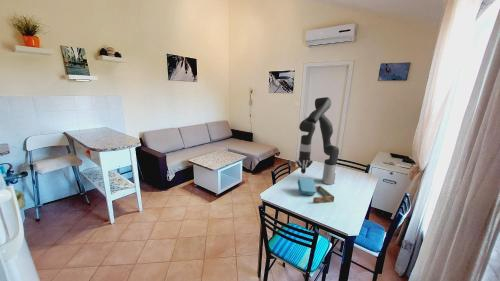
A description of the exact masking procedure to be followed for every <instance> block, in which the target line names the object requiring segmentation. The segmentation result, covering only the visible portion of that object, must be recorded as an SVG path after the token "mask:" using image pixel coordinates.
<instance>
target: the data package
mask: <svg viewBox="0 0 500 281" xmlns="http://www.w3.org/2000/svg"><path fill="white" fill-rule="evenodd" d="M297 184H298V185H297V186H298V191H299V192H298V193H300V194H301V195H308V196H314V195H315V194H316V193H317V191H316V187H315V186H316V184H315V180H314V179H313V178H307V177H299V179H298V181H297Z"/></svg>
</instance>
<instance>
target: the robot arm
mask: <svg viewBox="0 0 500 281" xmlns="http://www.w3.org/2000/svg"><path fill="white" fill-rule="evenodd" d="M331 106H332V100H331V98H330V97H328V96H327V97H324V96H323V97H317V98H315V99H314V107H315V109H314V110H313V111H312V112H310V114H309V115H308V116H307V117H306V118H305V119H303V120H302V121H301V122H300V124H299V131H301V132H305V133H307V134H303V135H301V137H300V145H299V155H298V156H299V157H298V159H297V160H295V163H296V165H297V167H298V168H300V173H301V174H302V175H303V174H305V173H306V169H307V168H310V166H311V165H312V164H313V160H311V152H312V139H313V135H314V132H315V130H316V124H317V123H318V122H319V127H320V129H319V130H320V133H321V138H322V139H321V140H322V144H323V153H324V154H325V155H326V156H329V158H327V159H324V163H323V170H322V171H323V172H322V178H321V179H322V180H321V182H322V183H323V184H325V185H333V184H335V180H336V172H335V171H336V166H337V162H338V159H339V154H340V148H339V147H338V146H336V145H333V144H332V143H331V138H332V136H333V133H334V129H333V123H332V121H331V120H330V119H329V118H328V116H326V114H325V113H327V111H328V110H329V109H330V108H331Z"/></svg>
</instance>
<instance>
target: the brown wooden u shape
mask: <svg viewBox="0 0 500 281" xmlns="http://www.w3.org/2000/svg"><path fill="white" fill-rule="evenodd" d="M315 187H316V192H320V193H321V194H322V195H324V196H317V197H316V196H315V197H313V198H312V199H313V200H312V203H313V204H322V203H334V201H335V196H334V195H333V194H331V193H330V192H329V191H328V190H326V189H325V188H324V187H323V186H321V185H315Z"/></svg>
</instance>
